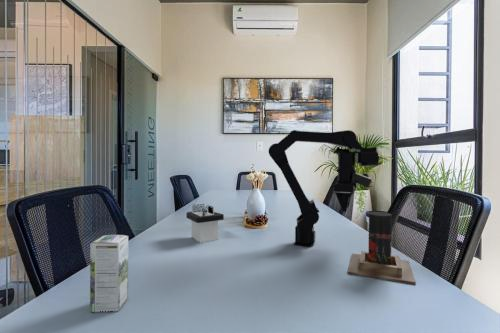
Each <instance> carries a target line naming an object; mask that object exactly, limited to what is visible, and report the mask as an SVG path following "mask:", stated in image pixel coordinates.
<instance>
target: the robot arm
mask: <svg viewBox="0 0 500 333" xmlns="http://www.w3.org/2000/svg"><path fill="white" fill-rule="evenodd" d="M296 142H301V143H320V144H330V145H333V146H336V148H335V149H334V150H333V151H332V154H337V155H338V156H337V168H336V169H337V170H336V172H337V180H336V184H334V186H333V191H334V194H335V196H336V198H337V201H338V203H339V206H340V208H341V211H342V212H343V213H346V212H347V210H348V208H349V206H350V203H351V198H352V196H353V195H354V193H355V191H356V190H357V187H358V185H361V186H363V187H364V188H368V189H369V188H370V186H371V183H372V181H373V178H372V177H370V175H369V174H368V173H366V172H364V173H362V174H361V173H357V170H356V164H358V166H359V167H378V165H379V161H380V157H379V151H378V149H377V146H372V147H371V146H370V147H363V146H362V144H361V143H360V142H359V141H358V138H357V135H356V133H355V132H354V131H352V130H340V131H339V130H338V131H333V132H324V131H322V132H321V131H303V130H301V131H300V130H296V129H294V130H291V131H290V132H289V133H288V134H287V135H286V136H285V137H283V138H282V139H281V140H280V141H279V142H277V143H273V144H272V145H270V146H269V147H268V155H269V156H270V158H271V159H272V160H273V162H274V163H275V164H276V165H277V166H278V168H279V169H280V170H281V173H282V175H283V177H284V178H285V180H286V183H287V184H288V186H289V188H290V190H291V193H292V194H293V196H294V198H295V200H296V201H297V204H298V207H299V209H300V210H299V211H300V213H301V214H300V215H299V216H298V217H297V218H295V219H296V226H295V227H294V228H295V230H294V231H295V232H294V239H295V240H294V242H293V245H296V246H304V247H313V245H314V244H315V243H316V231H315V226H314V225H316V224H317V223H318V222H319V219H320V215H319V213H320V210H319V208H318V207H317V205H316V204H315V201H314V199H311V200H309V199H308V197H307V196H306V195H305V192H304V190H303V188H302V186H301V184H300V183H299V180H298V179H297V177H296V175H295V173H294V171H293V169H292V167H291V165H290V163H289V160H288V159H289V158H288V156H287V154H286V151H287V150H288V149H290V147H291V146H292V145H294V144H295V143H296ZM350 150H351V151H350Z"/></svg>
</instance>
